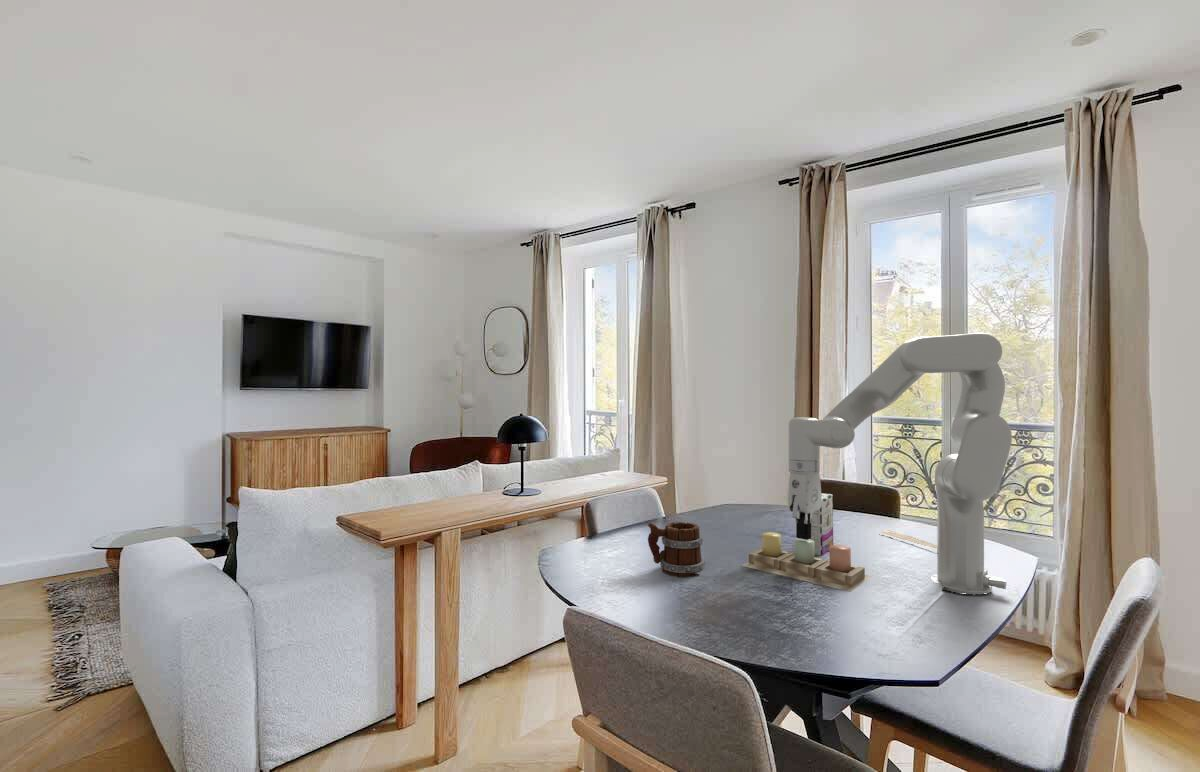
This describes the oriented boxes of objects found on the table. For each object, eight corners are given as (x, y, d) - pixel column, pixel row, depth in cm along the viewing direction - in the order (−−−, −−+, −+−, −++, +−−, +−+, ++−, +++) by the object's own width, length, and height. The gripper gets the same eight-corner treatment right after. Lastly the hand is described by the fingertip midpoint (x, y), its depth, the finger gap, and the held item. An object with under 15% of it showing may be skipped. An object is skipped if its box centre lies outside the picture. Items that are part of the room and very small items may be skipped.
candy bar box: (816, 547, 175) (816, 492, 175) (833, 550, 172) (833, 494, 172) (803, 556, 166) (803, 498, 166) (822, 560, 163) (822, 500, 163)
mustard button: (784, 553, 156) (784, 534, 156) (775, 557, 153) (775, 538, 153) (767, 549, 160) (767, 531, 160) (758, 553, 156) (758, 534, 156)
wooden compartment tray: (871, 581, 146) (871, 565, 146) (850, 596, 135) (850, 579, 135) (766, 558, 165) (766, 544, 165) (741, 570, 155) (741, 555, 155)
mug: (715, 575, 150) (705, 517, 149) (661, 588, 147) (650, 530, 147) (700, 561, 161) (690, 508, 161) (650, 573, 159) (640, 519, 158)
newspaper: (878, 536, 190) (878, 530, 190) (896, 534, 192) (896, 529, 192) (940, 557, 167) (940, 551, 167) (959, 554, 169) (959, 548, 169)
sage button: (817, 560, 150) (817, 540, 150) (809, 564, 147) (809, 544, 147) (799, 556, 153) (799, 537, 153) (791, 560, 150) (791, 541, 150)
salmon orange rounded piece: (853, 567, 144) (853, 547, 144) (846, 572, 141) (846, 551, 140) (834, 563, 147) (834, 543, 147) (826, 568, 144) (826, 547, 144)
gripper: (805, 471, 142) (805, 547, 142) (830, 464, 153) (830, 535, 153) (776, 468, 147) (776, 541, 147) (802, 461, 158) (802, 530, 158)
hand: (803, 538), depth 150 cm, fingers closed
